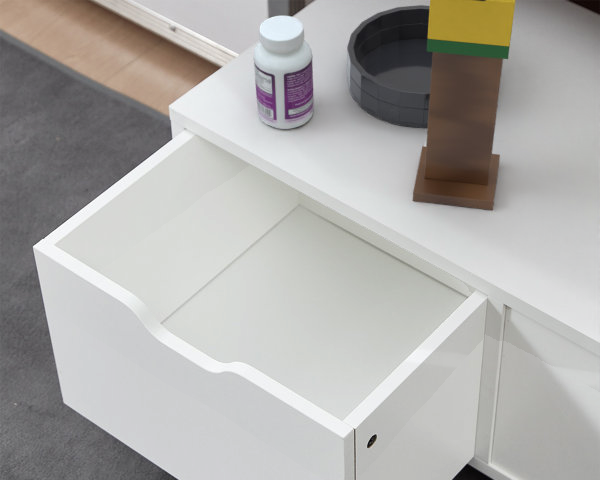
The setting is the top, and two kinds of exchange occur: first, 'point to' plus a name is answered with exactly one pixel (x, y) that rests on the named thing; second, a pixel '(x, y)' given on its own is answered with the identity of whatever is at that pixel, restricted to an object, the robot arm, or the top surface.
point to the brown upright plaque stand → (460, 132)
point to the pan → (392, 66)
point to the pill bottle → (283, 73)
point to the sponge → (471, 27)
